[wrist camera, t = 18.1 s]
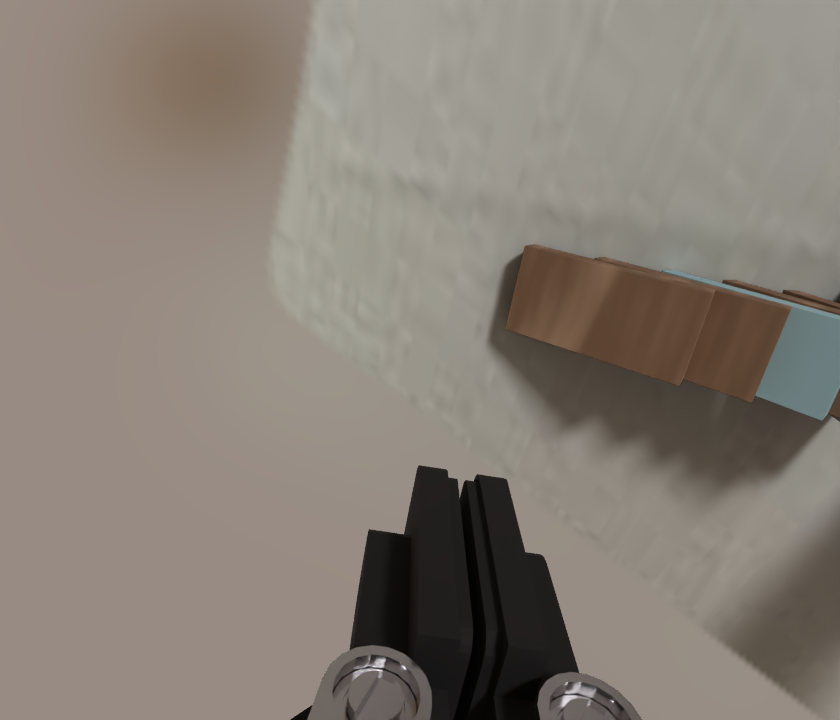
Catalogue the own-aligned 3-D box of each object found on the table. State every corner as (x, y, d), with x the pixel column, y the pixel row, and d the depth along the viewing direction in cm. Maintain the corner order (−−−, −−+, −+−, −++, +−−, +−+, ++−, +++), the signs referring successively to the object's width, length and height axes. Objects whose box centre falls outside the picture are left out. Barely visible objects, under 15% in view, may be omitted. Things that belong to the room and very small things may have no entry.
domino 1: (534, 244, 34) (715, 289, 30) (515, 324, 36) (683, 378, 31) (525, 245, 33) (712, 293, 28) (505, 328, 34) (679, 386, 30)
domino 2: (603, 256, 34) (792, 306, 29) (580, 335, 36) (755, 395, 31) (594, 258, 33) (790, 310, 28) (571, 340, 35) (751, 403, 30)
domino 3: (672, 269, 34) (870, 323, 28) (646, 347, 36) (827, 414, 30) (662, 270, 33) (865, 327, 27) (635, 350, 35) (822, 420, 29)
